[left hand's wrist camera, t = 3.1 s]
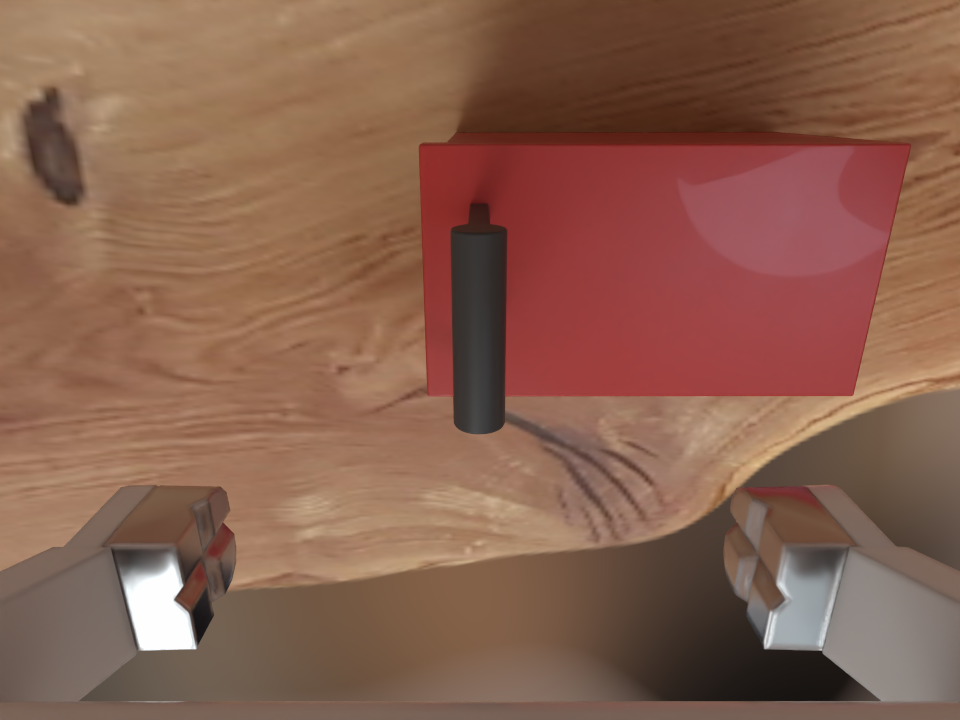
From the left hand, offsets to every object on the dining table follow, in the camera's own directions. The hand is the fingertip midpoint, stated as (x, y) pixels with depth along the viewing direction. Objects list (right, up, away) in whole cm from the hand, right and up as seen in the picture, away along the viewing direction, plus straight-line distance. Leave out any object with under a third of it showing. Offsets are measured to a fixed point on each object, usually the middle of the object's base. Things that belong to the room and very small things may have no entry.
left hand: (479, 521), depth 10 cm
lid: (+7, +6, +16) cm, 18 cm away
